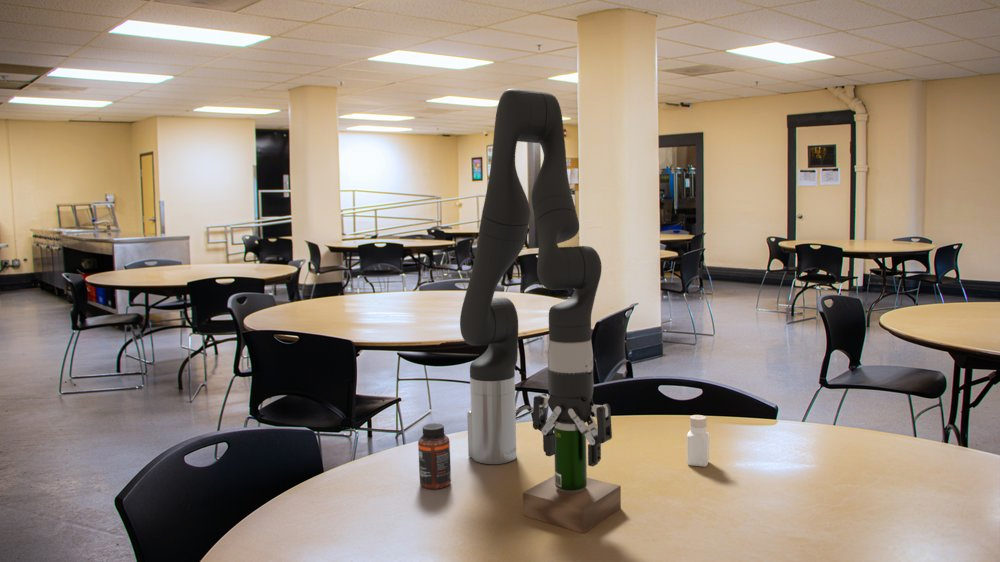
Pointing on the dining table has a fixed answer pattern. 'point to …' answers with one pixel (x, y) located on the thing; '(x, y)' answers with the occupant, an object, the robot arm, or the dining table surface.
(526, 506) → the walnut plinth
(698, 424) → the pepper shaker
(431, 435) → the supplement bottle
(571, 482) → the beer can
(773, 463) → the dining table surface
